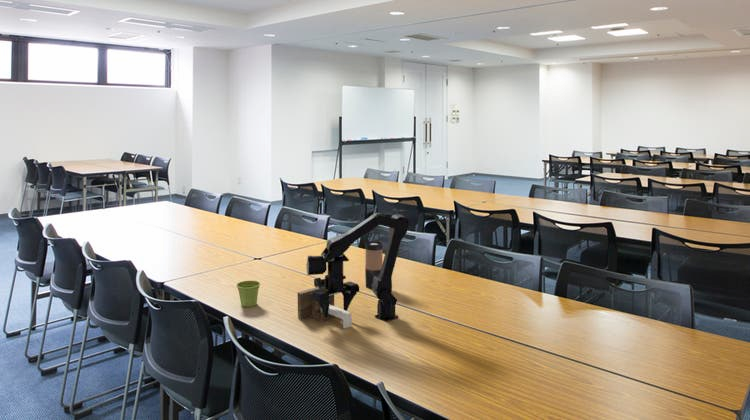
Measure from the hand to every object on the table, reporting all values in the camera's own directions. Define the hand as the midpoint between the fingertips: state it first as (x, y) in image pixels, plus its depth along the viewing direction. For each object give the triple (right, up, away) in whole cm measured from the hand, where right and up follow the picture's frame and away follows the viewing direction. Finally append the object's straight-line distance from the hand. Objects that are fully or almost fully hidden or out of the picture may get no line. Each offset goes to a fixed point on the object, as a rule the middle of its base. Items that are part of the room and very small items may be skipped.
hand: (335, 314), depth 191 cm
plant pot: (-36, 0, +18) cm, 40 cm away
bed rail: (0, -3, +1) cm, 3 cm away
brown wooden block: (-6, -2, +6) cm, 9 cm away
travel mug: (+14, +4, +42) cm, 44 cm away
